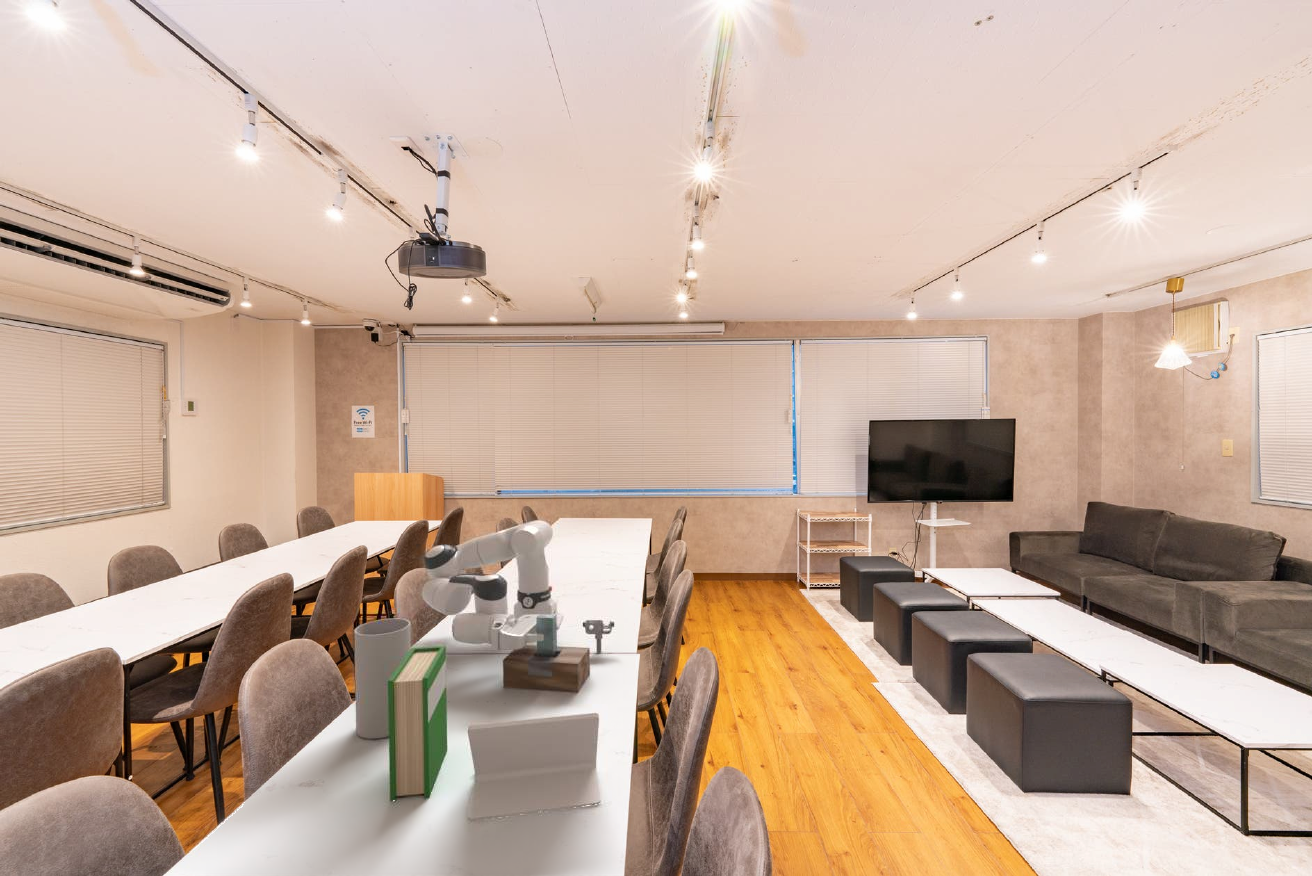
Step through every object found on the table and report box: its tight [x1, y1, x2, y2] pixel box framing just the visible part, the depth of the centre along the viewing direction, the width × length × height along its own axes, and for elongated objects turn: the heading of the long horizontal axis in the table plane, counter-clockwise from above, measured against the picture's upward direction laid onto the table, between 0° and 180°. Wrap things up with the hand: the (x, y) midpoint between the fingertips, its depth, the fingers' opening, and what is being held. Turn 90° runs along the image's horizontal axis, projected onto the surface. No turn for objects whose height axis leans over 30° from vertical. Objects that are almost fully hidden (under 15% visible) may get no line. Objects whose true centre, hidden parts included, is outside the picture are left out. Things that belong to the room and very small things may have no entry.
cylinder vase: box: [353, 617, 412, 740], centre depth 144 cm, size 12×12×25 cm
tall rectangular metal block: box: [536, 614, 558, 658], centre depth 169 cm, size 3×5×15 cm, turn 80°
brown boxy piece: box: [502, 644, 591, 693], centre depth 170 cm, size 12×22×8 cm, turn 81°
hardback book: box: [388, 645, 448, 802], centre depth 124 cm, size 18×7×24 cm, turn 9°
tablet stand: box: [467, 712, 602, 822], centre depth 120 cm, size 18×25×17 cm
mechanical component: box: [582, 619, 615, 654], centre depth 192 cm, size 3×10×10 cm, turn 89°
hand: (549, 631), depth 169 cm, fingers open, 8 cm apart
